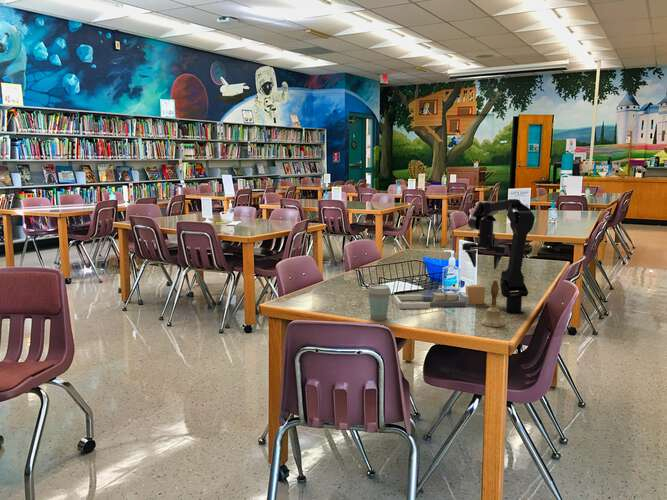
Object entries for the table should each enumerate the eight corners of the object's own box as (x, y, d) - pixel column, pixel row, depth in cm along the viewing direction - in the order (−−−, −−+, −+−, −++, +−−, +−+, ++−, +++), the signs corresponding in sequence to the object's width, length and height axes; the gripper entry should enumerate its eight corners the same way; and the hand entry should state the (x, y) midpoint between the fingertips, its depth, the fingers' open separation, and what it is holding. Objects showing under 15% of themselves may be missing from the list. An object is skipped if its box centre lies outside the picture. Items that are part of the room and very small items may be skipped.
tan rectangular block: (485, 304, 238) (486, 287, 236) (464, 304, 237) (464, 288, 236) (480, 301, 243) (481, 284, 242) (459, 301, 243) (460, 284, 242)
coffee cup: (388, 314, 222) (389, 284, 220) (391, 321, 213) (392, 289, 211) (366, 314, 221) (366, 284, 219) (368, 321, 213) (368, 289, 211)
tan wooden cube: (444, 304, 237) (445, 295, 237) (435, 304, 237) (435, 295, 236) (442, 302, 241) (442, 292, 241) (432, 302, 241) (433, 293, 240)
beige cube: (456, 304, 238) (457, 295, 237) (447, 304, 237) (447, 295, 237) (454, 302, 242) (454, 292, 241) (444, 302, 241) (445, 292, 241)
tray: (429, 308, 232) (429, 303, 231) (399, 308, 231) (399, 303, 230) (421, 299, 246) (421, 294, 245) (393, 299, 245) (393, 294, 244)
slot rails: (465, 306, 234) (465, 302, 234) (428, 307, 233) (428, 302, 233) (457, 299, 245) (457, 295, 245) (422, 300, 244) (422, 296, 244)
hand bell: (486, 319, 216) (488, 277, 214) (508, 323, 211) (510, 280, 208) (476, 324, 210) (478, 281, 207) (498, 328, 205) (501, 284, 202)
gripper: (515, 231, 244) (513, 268, 246) (474, 228, 256) (473, 263, 258) (504, 233, 236) (502, 271, 238) (462, 230, 248) (461, 266, 250)
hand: (484, 268), depth 246 cm, fingers open, 9 cm apart
